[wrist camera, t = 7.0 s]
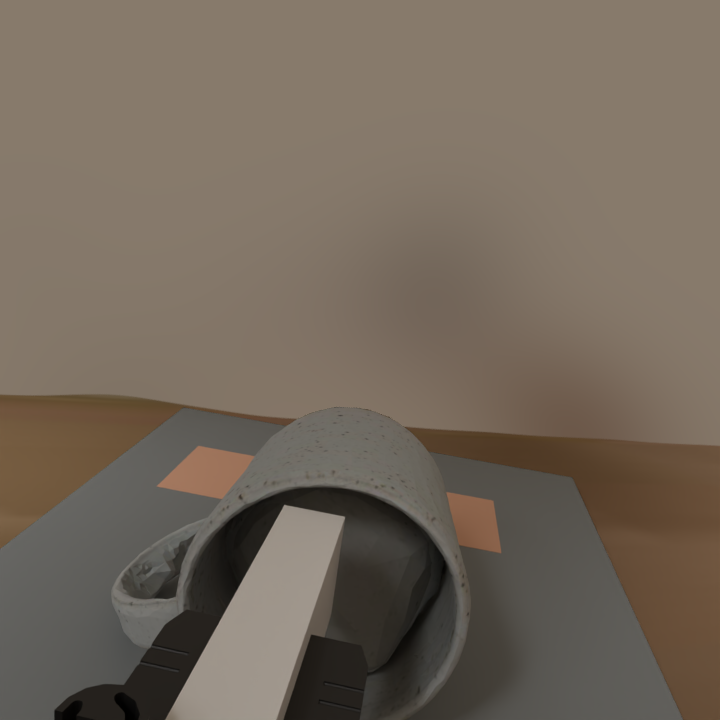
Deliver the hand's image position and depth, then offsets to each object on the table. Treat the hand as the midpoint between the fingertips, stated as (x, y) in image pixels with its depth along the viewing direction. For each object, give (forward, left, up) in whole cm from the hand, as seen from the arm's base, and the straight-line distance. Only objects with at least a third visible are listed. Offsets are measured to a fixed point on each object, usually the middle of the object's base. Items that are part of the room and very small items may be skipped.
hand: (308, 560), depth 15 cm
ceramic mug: (-1, +4, -6) cm, 7 cm away
